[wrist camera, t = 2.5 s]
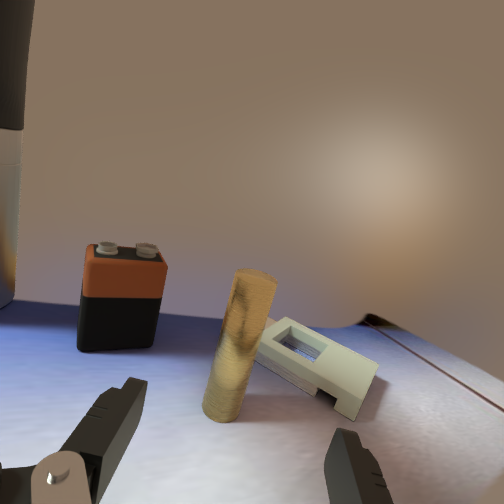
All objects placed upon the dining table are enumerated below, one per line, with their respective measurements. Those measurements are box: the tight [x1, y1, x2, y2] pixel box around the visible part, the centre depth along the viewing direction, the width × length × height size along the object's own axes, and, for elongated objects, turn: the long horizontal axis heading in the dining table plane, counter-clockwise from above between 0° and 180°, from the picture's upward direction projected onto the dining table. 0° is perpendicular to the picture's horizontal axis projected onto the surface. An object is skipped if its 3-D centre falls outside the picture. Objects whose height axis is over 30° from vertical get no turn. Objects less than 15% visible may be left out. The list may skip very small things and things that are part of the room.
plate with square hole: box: [258, 317, 379, 421], centre depth 35 cm, size 12×8×2 cm, turn 58°
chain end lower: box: [255, 317, 322, 397], centre depth 37 cm, size 12×8×1 cm, turn 58°
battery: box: [77, 241, 168, 351], centre depth 30 cm, size 4×7×10 cm, turn 117°
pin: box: [202, 269, 278, 423], centre depth 25 cm, size 3×3×12 cm
